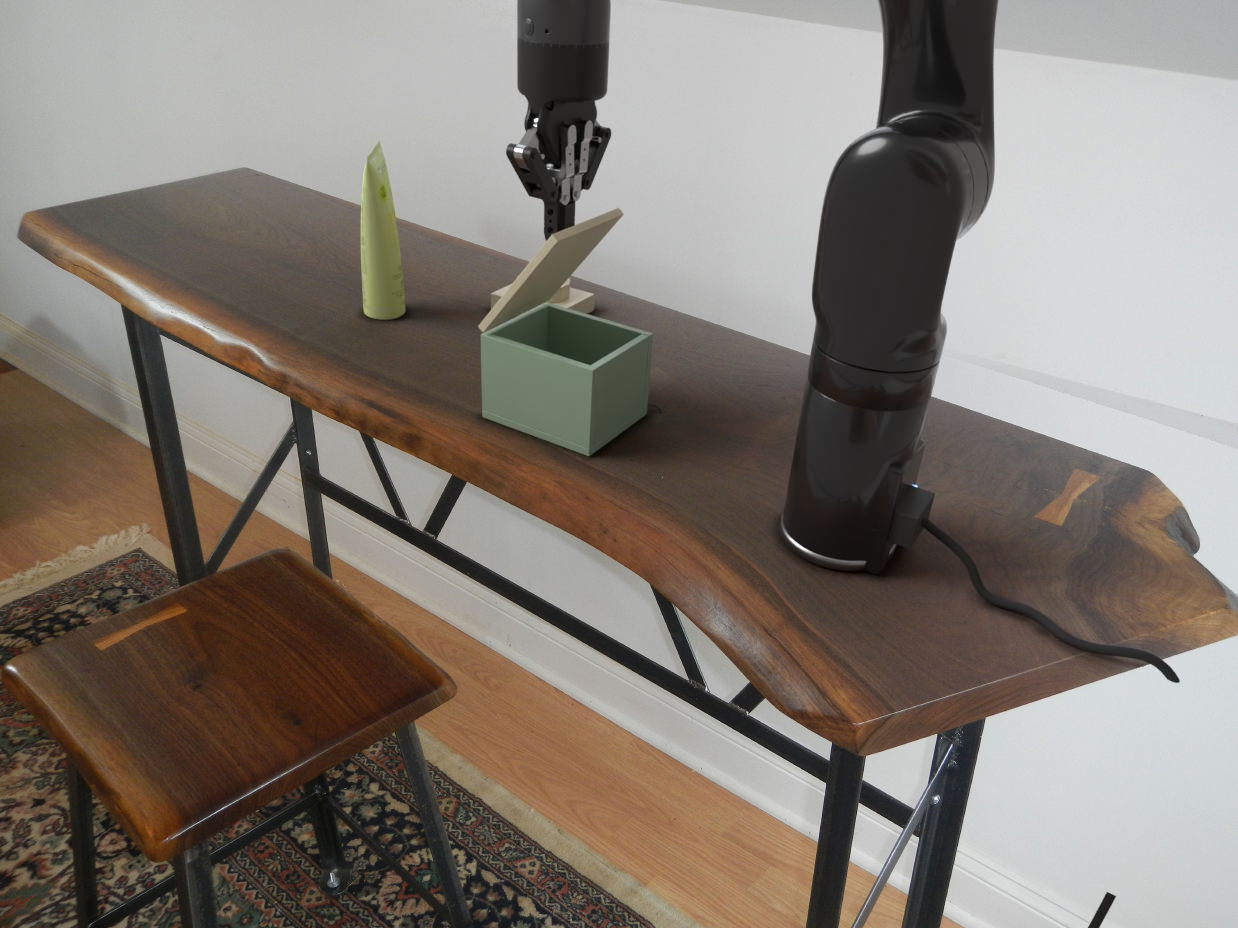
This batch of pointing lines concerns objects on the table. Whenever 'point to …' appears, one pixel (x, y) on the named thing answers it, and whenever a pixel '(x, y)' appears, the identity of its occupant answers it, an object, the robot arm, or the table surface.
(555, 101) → the robot arm
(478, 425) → the table surface
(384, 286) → the tube
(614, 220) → the lid
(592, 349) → the chest
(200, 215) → the table surface
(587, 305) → the button box
